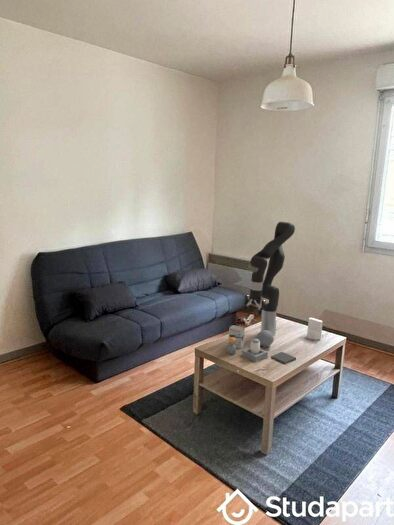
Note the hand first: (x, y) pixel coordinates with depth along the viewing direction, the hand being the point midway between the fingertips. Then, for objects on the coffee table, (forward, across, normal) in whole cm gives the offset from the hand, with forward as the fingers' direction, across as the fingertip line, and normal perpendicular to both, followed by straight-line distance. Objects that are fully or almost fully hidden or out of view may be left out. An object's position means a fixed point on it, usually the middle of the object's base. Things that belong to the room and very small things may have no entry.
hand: (253, 313), depth 243 cm
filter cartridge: (+19, -15, +17) cm, 29 cm away
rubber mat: (+18, -28, +7) cm, 34 cm away
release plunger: (+12, -3, +24) cm, 27 cm away
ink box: (+19, +2, +13) cm, 23 cm away
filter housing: (+19, -10, +19) cm, 29 cm away
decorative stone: (+18, -10, 0) cm, 21 cm away
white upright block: (+16, -24, -37) cm, 47 cm away
